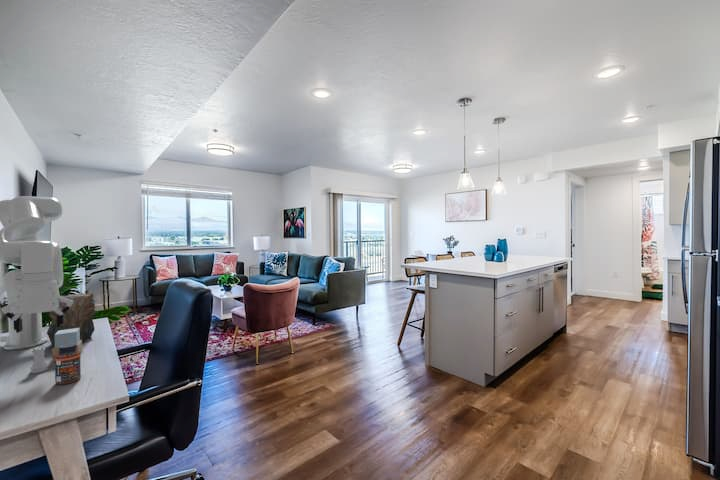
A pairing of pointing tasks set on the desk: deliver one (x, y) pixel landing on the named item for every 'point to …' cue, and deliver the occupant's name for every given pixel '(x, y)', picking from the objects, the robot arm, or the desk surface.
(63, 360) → the supplement bottle
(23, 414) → the desk surface
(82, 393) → the desk surface
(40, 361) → the rook chess piece
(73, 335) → the slate block
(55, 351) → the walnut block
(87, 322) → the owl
